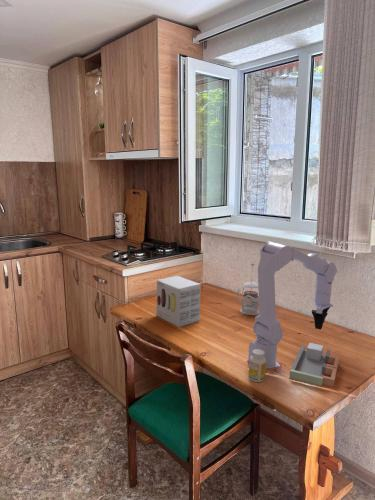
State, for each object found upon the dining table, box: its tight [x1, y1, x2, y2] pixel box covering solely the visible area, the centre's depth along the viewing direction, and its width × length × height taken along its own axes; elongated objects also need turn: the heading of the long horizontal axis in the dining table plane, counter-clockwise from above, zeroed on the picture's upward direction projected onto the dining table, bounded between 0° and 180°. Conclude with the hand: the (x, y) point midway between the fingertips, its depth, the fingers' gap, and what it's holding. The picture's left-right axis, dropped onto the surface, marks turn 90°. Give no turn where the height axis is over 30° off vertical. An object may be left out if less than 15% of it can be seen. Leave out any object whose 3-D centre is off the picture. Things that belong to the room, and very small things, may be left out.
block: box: [306, 342, 324, 361], centre depth 140 cm, size 5×5×4 cm
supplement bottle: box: [248, 349, 267, 383], centre depth 125 cm, size 5×5×10 cm
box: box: [289, 344, 340, 388], centre depth 133 cm, size 23×14×3 cm, turn 153°
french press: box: [236, 262, 260, 316], centre depth 186 cm, size 10×12×25 cm
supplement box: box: [155, 275, 202, 328], centre depth 175 cm, size 17×13×18 cm
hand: (319, 325), depth 145 cm, fingers open, 7 cm apart
